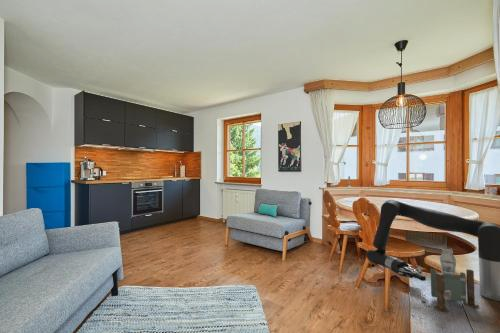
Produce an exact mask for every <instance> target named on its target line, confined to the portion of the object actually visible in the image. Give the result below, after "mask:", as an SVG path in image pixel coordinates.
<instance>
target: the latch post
mask: <svg viewBox="0 0 500 333" xmlns="http://www.w3.org/2000/svg"><path fill="white" fill-rule="evenodd" d="M436 291H437V297H436V305H433V309H434V310H436V311H438V312H440V313H442V314H444V313H449V312H450V309H449V308H447V307H446V300H450V299H451V291H449V290H445V278H444V274H442V272H436Z"/></svg>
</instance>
